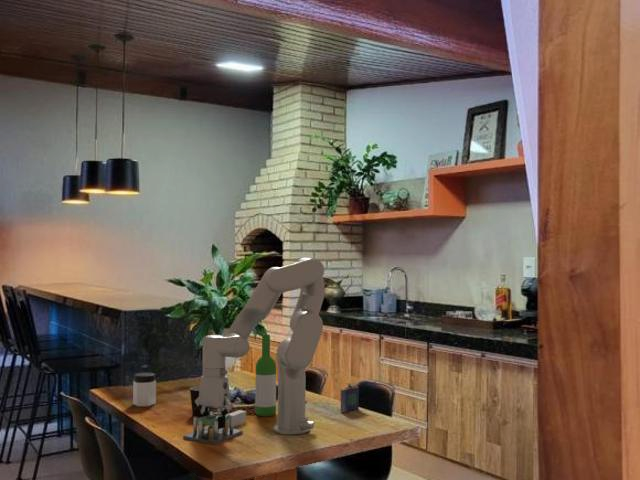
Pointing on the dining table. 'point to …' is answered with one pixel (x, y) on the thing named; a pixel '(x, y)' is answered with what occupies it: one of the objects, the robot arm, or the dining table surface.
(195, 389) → the coffee mug
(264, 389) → the wine bottle
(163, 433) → the dining table surface
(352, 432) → the dining table surface
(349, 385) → the flask
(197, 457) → the dining table surface
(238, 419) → the stand
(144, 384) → the jar
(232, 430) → the vial rack
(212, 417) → the board
